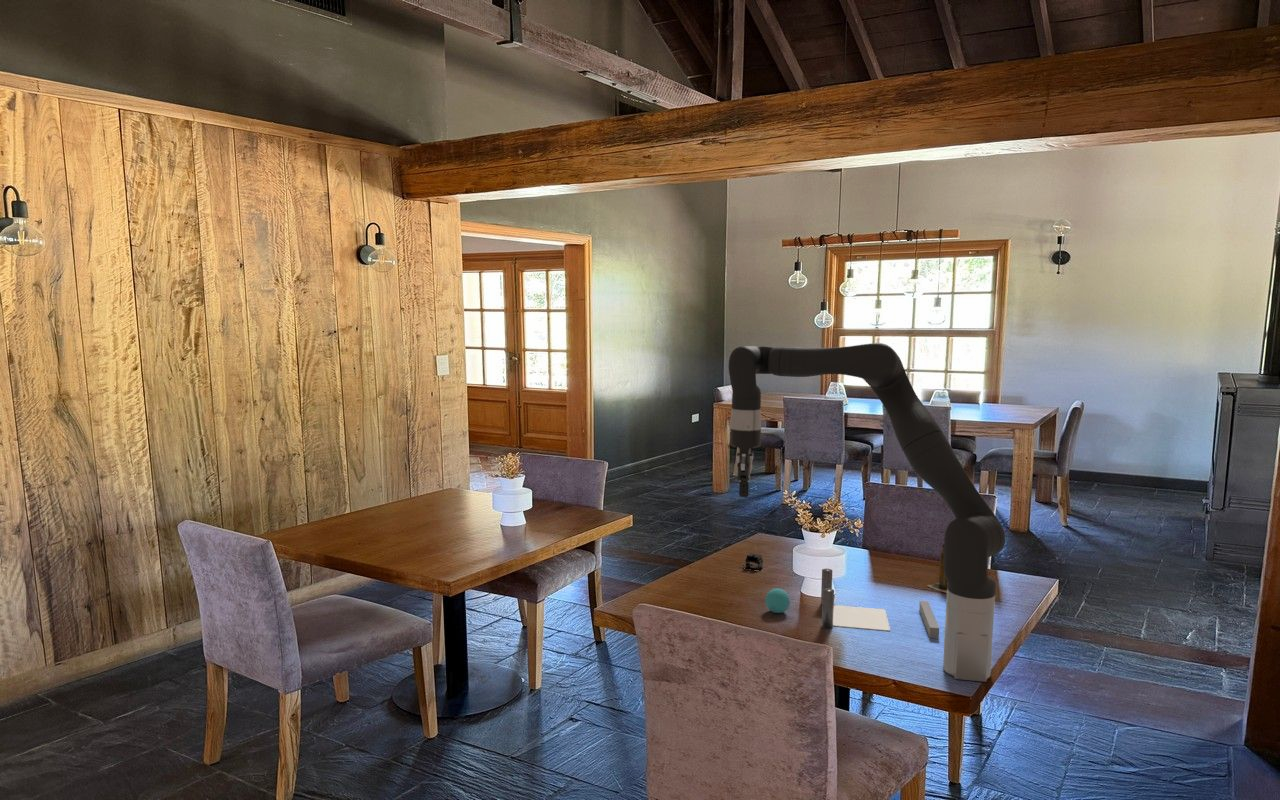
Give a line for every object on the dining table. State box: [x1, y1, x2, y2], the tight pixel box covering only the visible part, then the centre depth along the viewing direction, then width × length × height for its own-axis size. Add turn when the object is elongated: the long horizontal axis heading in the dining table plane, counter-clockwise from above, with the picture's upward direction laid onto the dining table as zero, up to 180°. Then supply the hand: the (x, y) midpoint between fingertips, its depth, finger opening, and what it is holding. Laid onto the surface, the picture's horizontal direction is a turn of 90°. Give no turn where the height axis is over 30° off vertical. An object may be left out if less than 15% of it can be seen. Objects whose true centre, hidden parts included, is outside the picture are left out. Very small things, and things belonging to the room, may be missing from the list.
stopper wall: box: [918, 600, 940, 640], centre depth 193 cm, size 18×2×2 cm, turn 168°
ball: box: [765, 588, 791, 614], centre depth 200 cm, size 6×6×6 cm
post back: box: [820, 568, 833, 606], centre depth 206 cm, size 3×3×9 cm
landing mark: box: [833, 604, 891, 632], centre depth 197 cm, size 14×14×1 cm
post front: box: [821, 588, 835, 630], centre depth 190 cm, size 3×3×9 cm
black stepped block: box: [738, 552, 765, 571], centre depth 235 cm, size 12×7×5 cm, turn 58°
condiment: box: [927, 543, 947, 594], centre depth 219 cm, size 7×8×12 cm
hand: (743, 496), depth 199 cm, fingers closed
